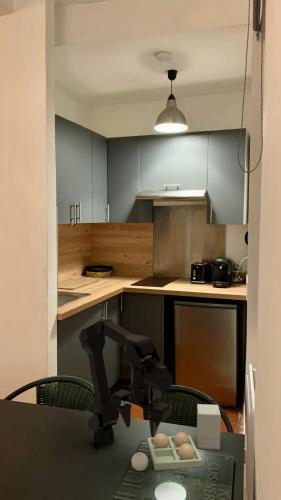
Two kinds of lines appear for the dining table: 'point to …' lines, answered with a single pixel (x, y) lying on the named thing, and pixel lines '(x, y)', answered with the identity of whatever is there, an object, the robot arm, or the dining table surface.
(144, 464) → the white egg
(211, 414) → the supplement box
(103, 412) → the robot arm
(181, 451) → the brown egg front right
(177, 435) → the brown egg back right
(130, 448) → the dining table surface
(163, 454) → the egg tray
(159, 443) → the brown egg back left
